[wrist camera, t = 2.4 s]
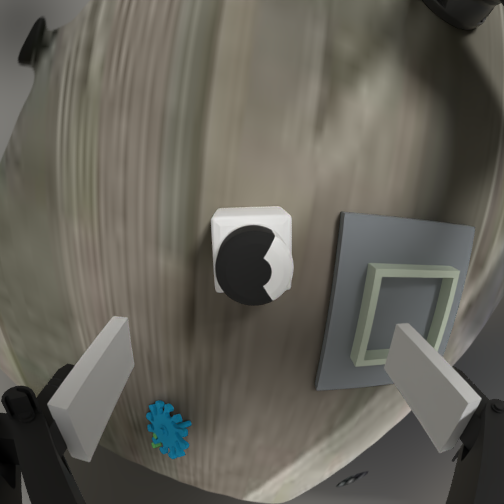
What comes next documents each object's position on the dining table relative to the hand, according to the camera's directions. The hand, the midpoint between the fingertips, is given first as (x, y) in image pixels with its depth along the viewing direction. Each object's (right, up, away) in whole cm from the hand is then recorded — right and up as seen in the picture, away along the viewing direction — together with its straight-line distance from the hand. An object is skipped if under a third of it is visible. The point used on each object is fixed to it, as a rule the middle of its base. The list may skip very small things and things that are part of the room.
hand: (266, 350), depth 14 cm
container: (-1, +6, +24) cm, 25 cm away
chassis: (+21, -4, +27) cm, 34 cm away
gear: (-14, -22, +31) cm, 41 cm away
